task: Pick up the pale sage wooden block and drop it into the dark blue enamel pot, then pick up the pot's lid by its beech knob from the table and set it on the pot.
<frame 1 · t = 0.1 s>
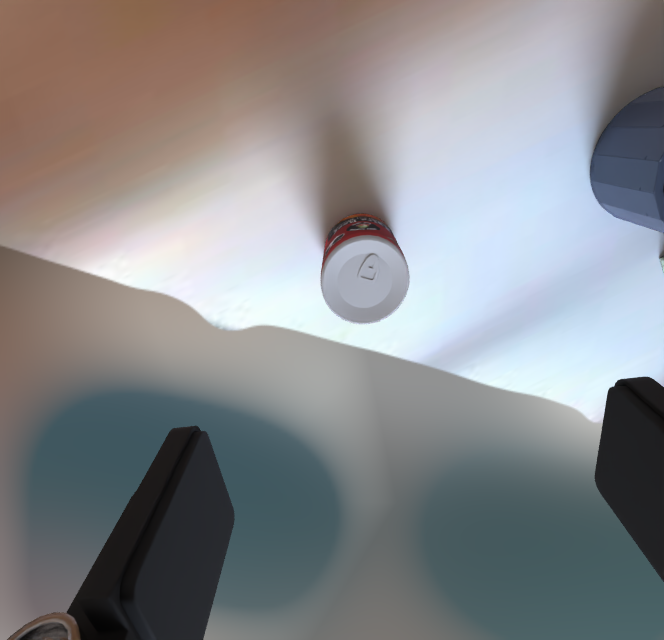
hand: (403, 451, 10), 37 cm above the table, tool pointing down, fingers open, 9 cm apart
pot: (655, 157, 41), on the table
canned food: (359, 248, 45), on the table
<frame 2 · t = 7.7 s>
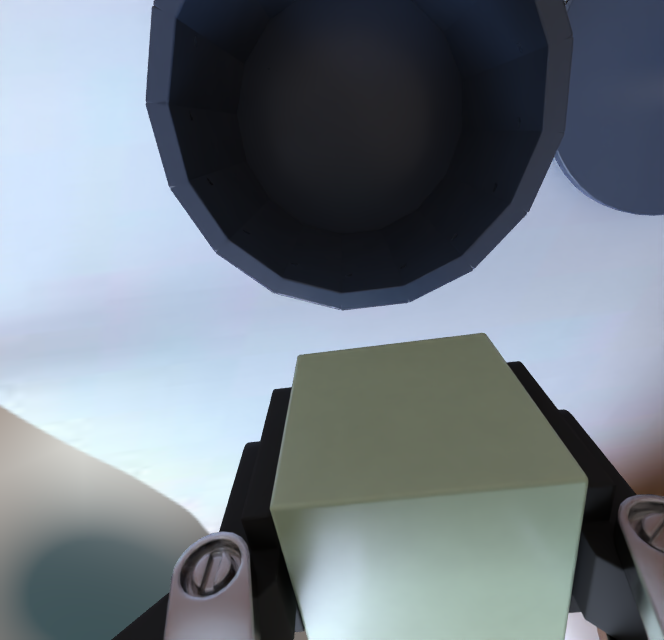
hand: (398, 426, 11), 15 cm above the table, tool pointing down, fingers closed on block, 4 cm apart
pot: (349, 122, 21), on the table
coffee press: (609, 557, 35), on the table
block: (397, 418, 11), point 14 cm above the table, touching gripper
when the fingers open (8 cm above the table, at t = 10.4 s): block drops 7 cm, resting on pot.
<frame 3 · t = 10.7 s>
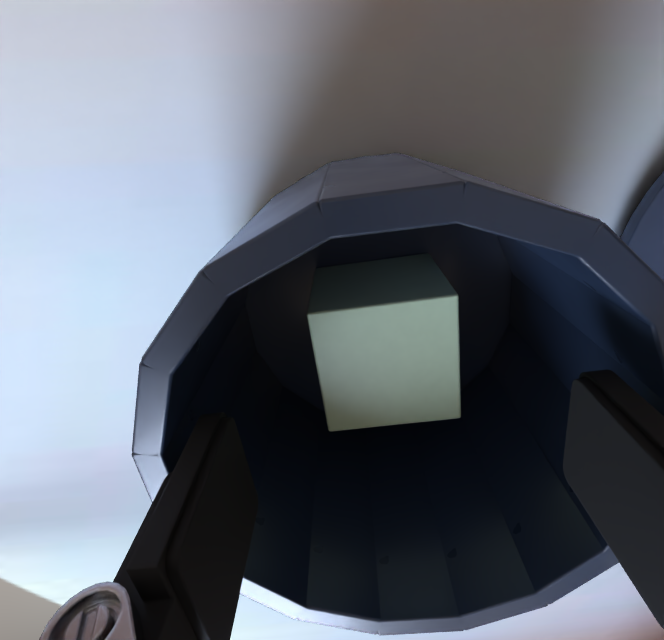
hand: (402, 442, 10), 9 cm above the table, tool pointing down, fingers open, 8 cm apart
pot: (376, 308, 18), on the table
block: (377, 312, 18), point 1 cm above the table, touching pot
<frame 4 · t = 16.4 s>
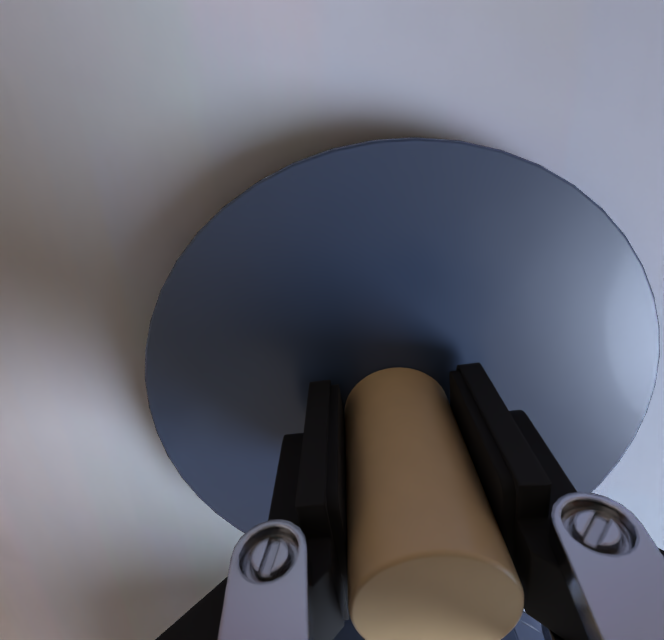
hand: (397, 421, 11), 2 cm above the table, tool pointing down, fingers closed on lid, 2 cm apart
lid: (393, 397, 12), point 1 cm above the table, touching gripper
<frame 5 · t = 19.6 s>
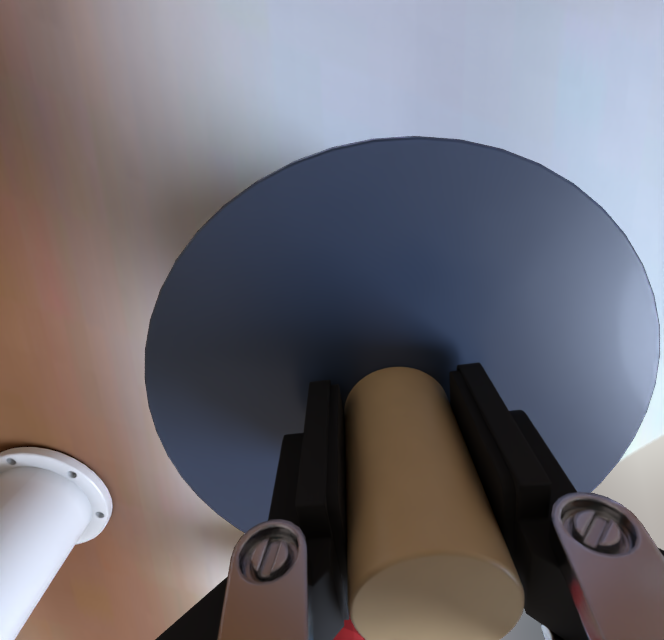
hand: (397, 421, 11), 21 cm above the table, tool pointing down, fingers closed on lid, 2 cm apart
lid: (393, 396, 12), point 20 cm above the table, touching gripper
canned food: (328, 549, 45), on the table
when the fingers open (11 cm above the table, at t = 22.7 s): lid stays where it is, resting on pot.
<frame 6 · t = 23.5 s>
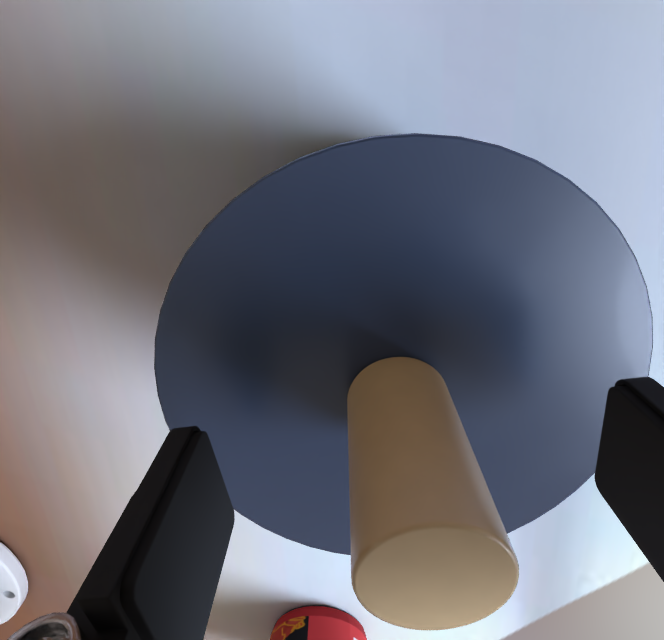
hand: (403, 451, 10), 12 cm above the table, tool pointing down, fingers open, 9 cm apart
lid: (394, 386, 12), point 9 cm above the table, touching pot
canned food: (319, 629, 34), on the table
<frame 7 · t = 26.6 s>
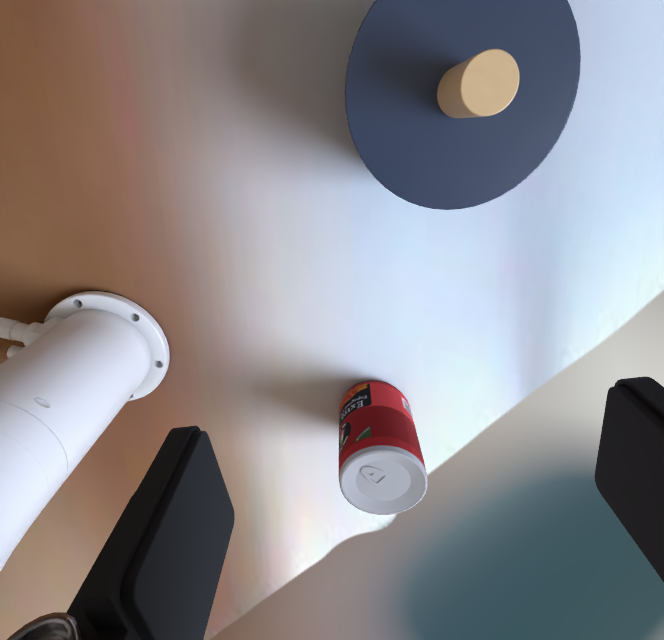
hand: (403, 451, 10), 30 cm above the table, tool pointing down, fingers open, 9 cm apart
lid: (458, 92, 25), point 9 cm above the table, touching pot
canned food: (373, 406, 46), on the table
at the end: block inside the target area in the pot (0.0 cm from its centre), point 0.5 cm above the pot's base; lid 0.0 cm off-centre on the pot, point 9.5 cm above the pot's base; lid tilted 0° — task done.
